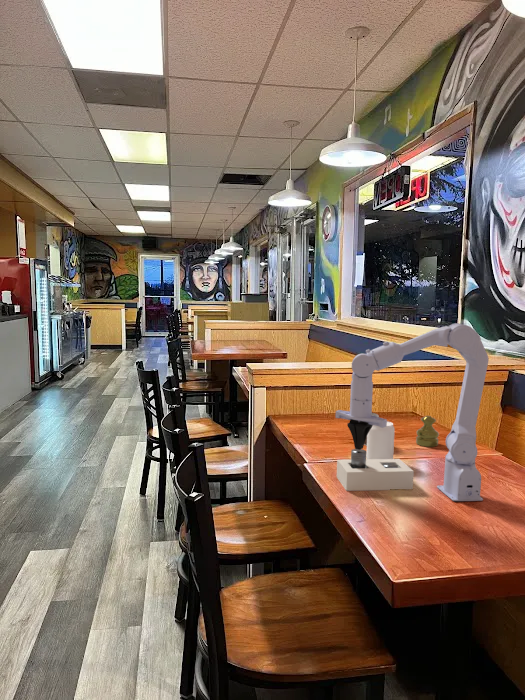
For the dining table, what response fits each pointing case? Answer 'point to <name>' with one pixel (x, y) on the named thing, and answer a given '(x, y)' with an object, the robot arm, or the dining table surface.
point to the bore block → (375, 475)
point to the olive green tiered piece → (427, 433)
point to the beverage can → (380, 442)
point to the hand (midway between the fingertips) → (358, 448)
